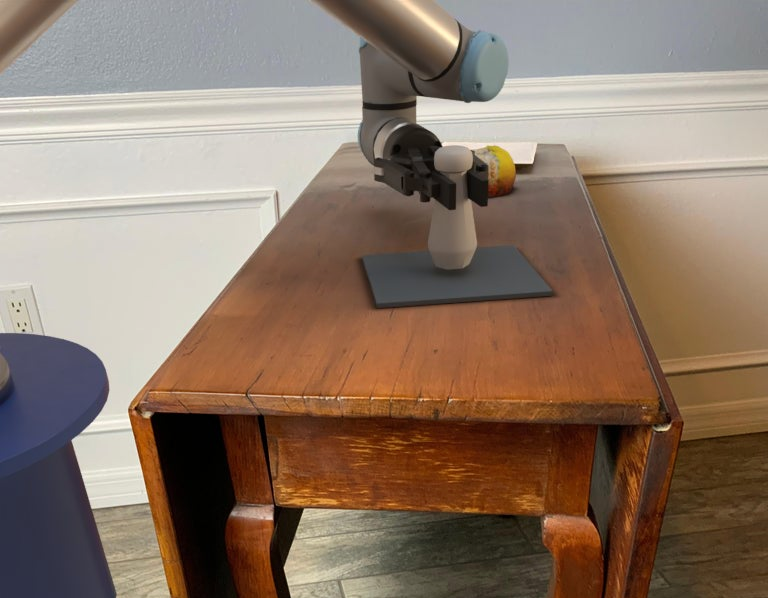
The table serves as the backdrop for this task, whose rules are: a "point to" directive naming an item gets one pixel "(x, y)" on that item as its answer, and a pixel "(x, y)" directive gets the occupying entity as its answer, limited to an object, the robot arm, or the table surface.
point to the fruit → (498, 169)
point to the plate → (517, 150)
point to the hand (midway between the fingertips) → (468, 195)
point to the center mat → (452, 278)
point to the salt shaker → (453, 213)
